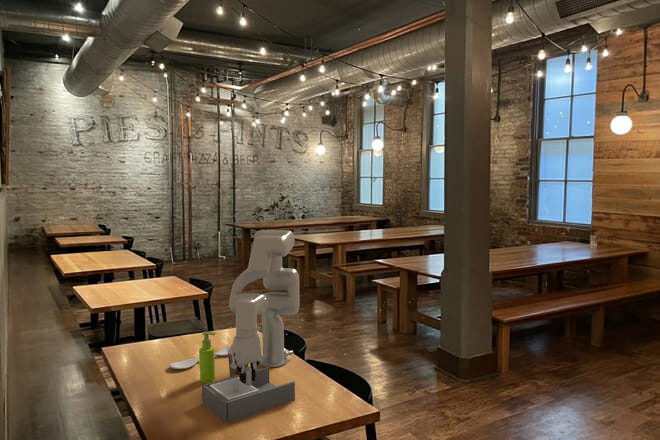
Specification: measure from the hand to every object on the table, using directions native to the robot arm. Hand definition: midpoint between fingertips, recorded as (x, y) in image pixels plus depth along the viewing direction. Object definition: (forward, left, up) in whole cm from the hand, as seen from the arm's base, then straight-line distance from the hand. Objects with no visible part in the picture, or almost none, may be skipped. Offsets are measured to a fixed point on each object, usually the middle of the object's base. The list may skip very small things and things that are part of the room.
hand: (247, 380), depth 185 cm
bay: (0, 0, -8) cm, 8 cm away
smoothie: (-5, -17, -8) cm, 20 cm away
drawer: (+5, 0, -7) cm, 9 cm away
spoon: (-5, -49, -9) cm, 50 cm away
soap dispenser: (+3, -28, -8) cm, 29 cm away
